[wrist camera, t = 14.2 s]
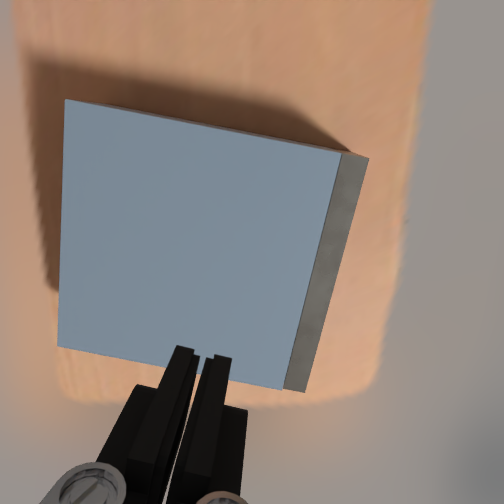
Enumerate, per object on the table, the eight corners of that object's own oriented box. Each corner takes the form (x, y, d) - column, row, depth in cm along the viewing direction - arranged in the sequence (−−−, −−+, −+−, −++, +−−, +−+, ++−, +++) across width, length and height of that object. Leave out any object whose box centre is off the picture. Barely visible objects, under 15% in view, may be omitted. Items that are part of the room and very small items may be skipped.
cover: (104, 103, 35) (64, 98, 28) (329, 147, 35) (341, 153, 28) (91, 311, 42) (57, 346, 35) (281, 349, 42) (281, 390, 35)
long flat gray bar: (330, 147, 35) (342, 153, 29) (352, 152, 35) (369, 158, 29) (282, 347, 42) (283, 388, 35) (300, 351, 42) (304, 392, 35)
